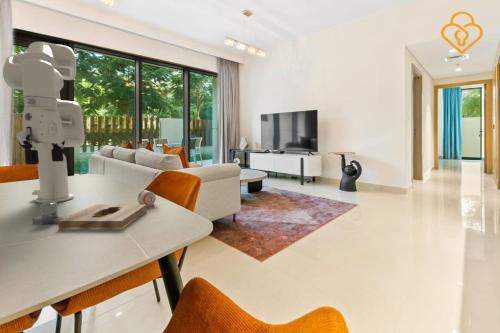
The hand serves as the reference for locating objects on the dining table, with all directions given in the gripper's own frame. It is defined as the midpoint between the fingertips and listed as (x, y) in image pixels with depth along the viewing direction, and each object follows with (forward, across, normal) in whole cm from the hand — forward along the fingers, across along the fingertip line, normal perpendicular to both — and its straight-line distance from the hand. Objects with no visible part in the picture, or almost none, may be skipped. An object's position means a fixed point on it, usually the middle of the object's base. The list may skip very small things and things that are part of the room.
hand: (46, 162), depth 77 cm
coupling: (+19, 0, 0) cm, 19 cm away
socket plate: (+19, +3, -16) cm, 25 cm away
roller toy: (+19, +20, -22) cm, 35 cm away
